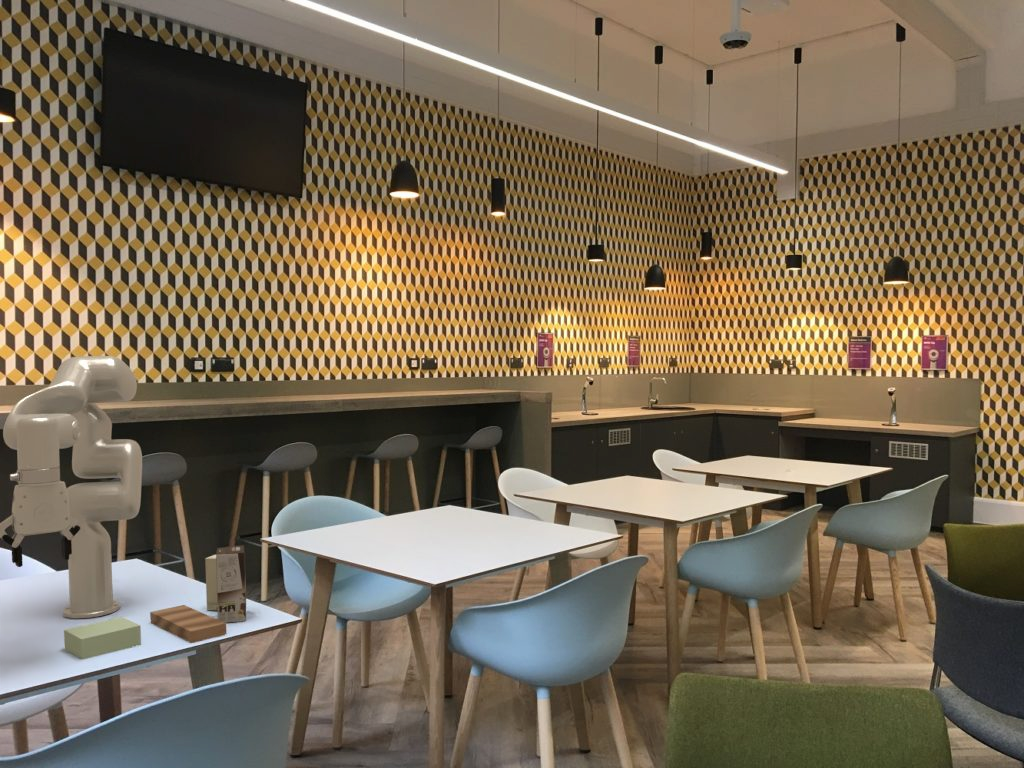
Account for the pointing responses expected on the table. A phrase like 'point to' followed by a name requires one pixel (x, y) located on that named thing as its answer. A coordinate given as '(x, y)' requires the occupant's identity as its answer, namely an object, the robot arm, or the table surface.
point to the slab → (102, 637)
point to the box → (211, 583)
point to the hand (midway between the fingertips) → (42, 561)
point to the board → (188, 623)
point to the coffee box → (231, 584)
